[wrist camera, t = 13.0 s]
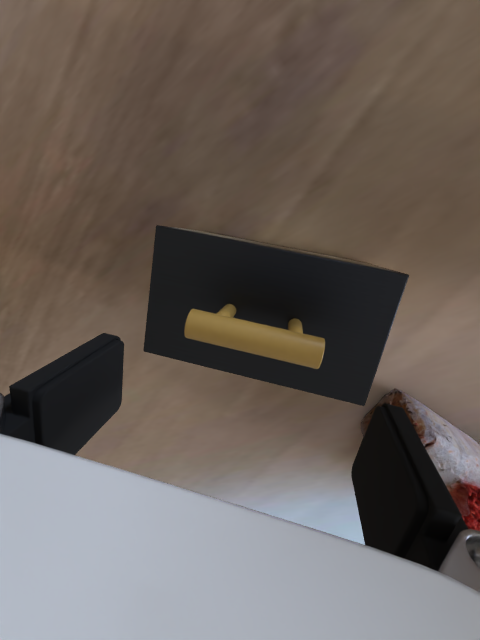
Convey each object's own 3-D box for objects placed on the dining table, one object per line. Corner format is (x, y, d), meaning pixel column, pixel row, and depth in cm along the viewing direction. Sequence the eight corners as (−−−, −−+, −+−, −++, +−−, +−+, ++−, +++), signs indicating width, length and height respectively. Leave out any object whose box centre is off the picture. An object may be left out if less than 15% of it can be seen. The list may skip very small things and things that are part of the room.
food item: (503, 452, 32) (589, 546, 22) (444, 495, 34) (499, 595, 25) (398, 378, 31) (441, 443, 22) (347, 428, 34) (366, 504, 25)
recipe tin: (108, 219, 14) (98, 383, 17) (456, 287, 13) (388, 461, 15) (203, 231, 30) (191, 316, 33) (366, 262, 28) (340, 350, 31)
